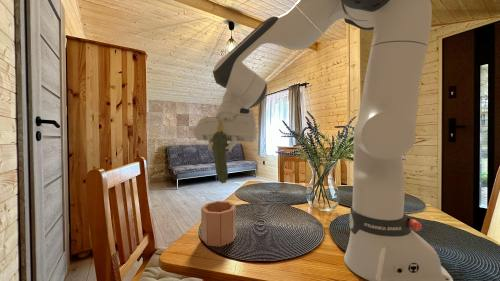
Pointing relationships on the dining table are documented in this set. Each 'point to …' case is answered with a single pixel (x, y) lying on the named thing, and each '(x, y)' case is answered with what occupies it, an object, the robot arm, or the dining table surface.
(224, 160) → the vegetable
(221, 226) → the crock
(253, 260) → the dining table surface
